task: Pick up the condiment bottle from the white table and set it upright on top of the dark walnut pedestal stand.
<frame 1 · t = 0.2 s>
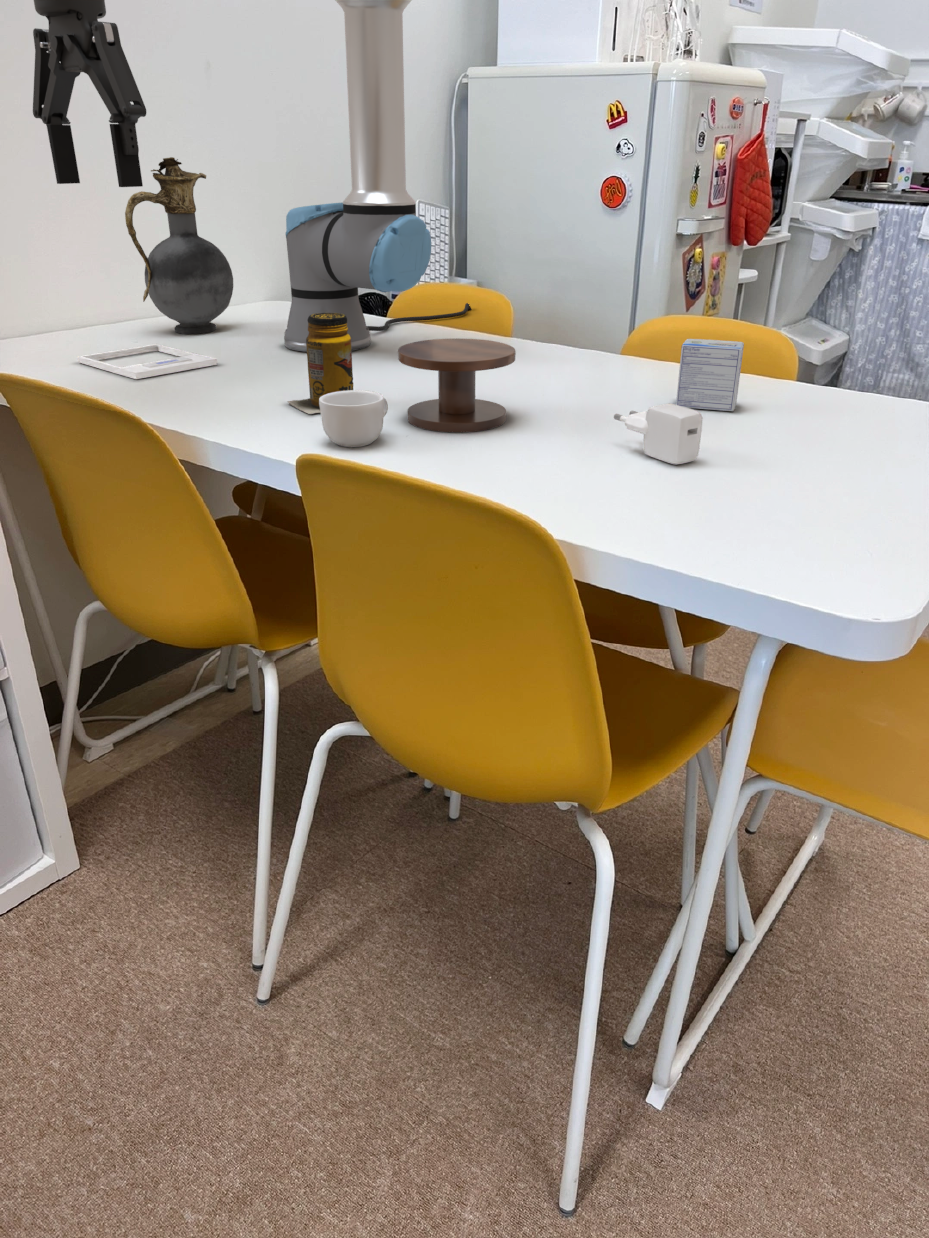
hand: (98, 185, 114), 28 cm above the table, tool pointing down, fingers open, 13 cm apart
condiment: (326, 406, 130), on the table
photo frame: (147, 364, 153), on the table
teacup: (360, 441, 115), on the table
stand: (456, 419, 124), on the table
power adapter: (653, 454, 110), on the table
pitcher: (188, 333, 179), on the table
medicine box: (705, 408, 130), on the table
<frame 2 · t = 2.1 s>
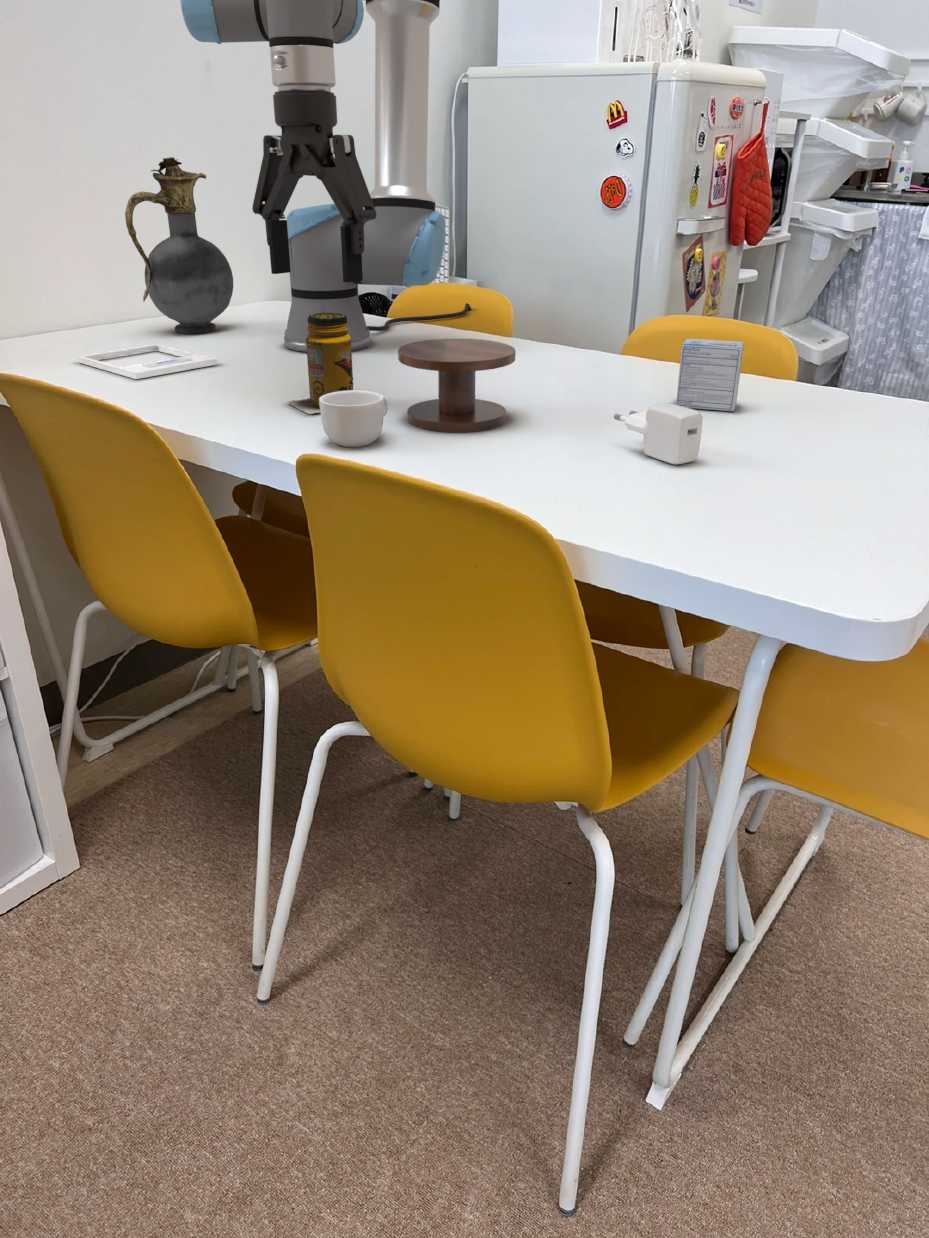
hand: (316, 277, 122), 17 cm above the table, tool pointing down, fingers open, 13 cm apart
nothing on the table moved.
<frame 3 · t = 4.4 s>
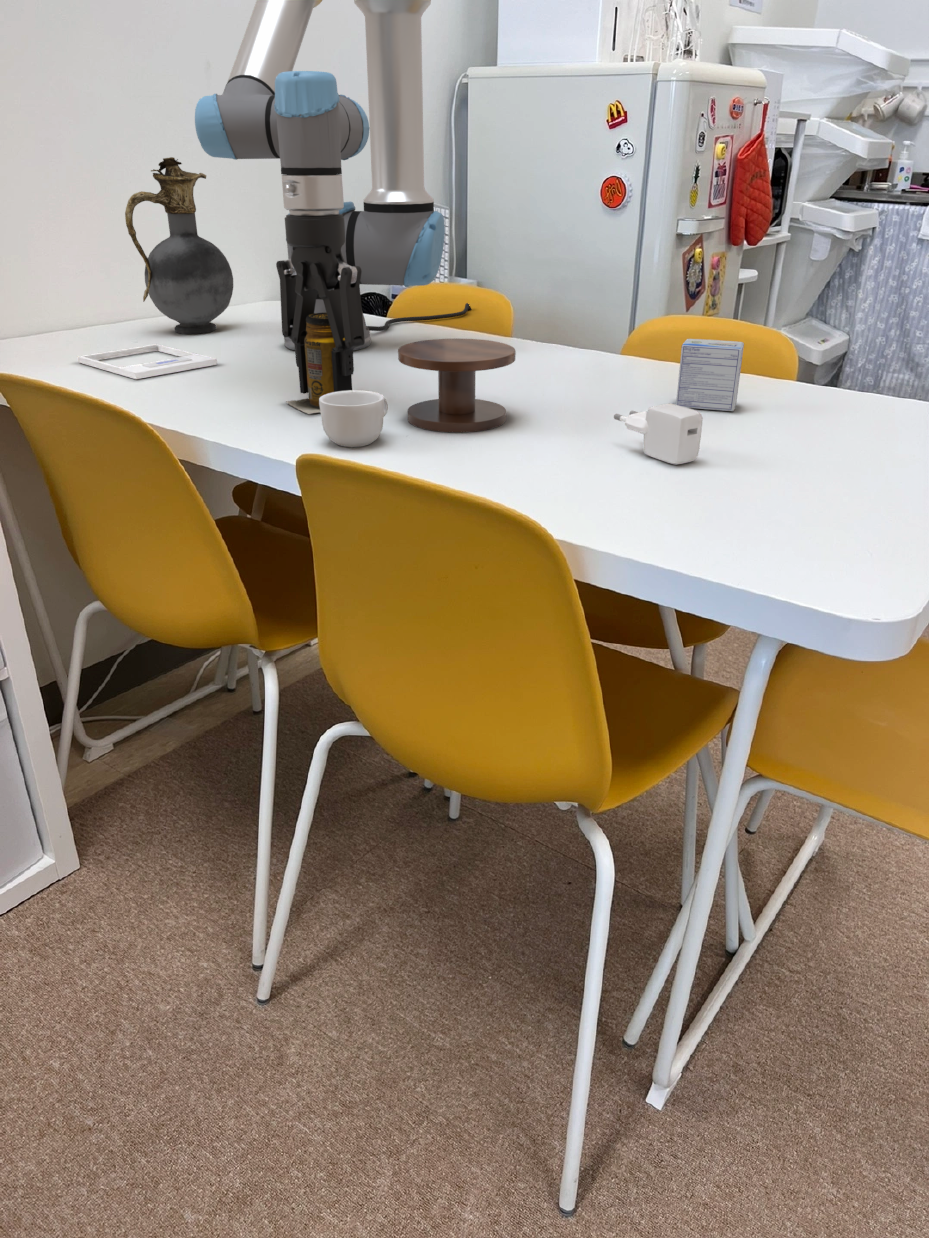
hand: (326, 394, 129), 1 cm above the table, tool pointing down, fingers closed on condiment, 6 cm apart
condiment: (324, 406, 130), on the table, touching gripper
everything else where it was.
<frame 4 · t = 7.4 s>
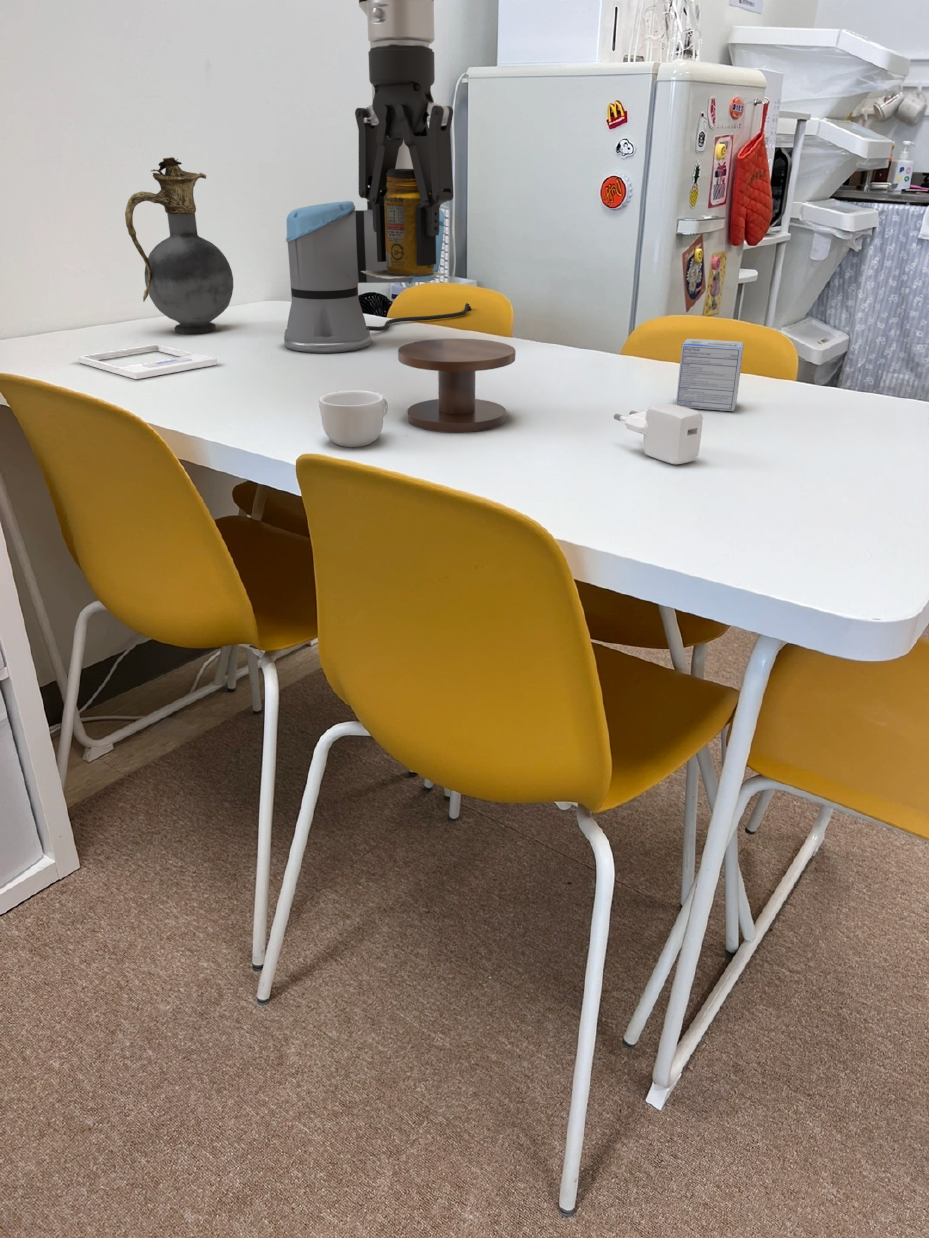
hand: (406, 262, 117), 19 cm above the table, tool pointing down, fingers closed on condiment, 6 cm apart
condiment: (403, 276, 118), point 17 cm above the table, touching gripper
everything else where it was.
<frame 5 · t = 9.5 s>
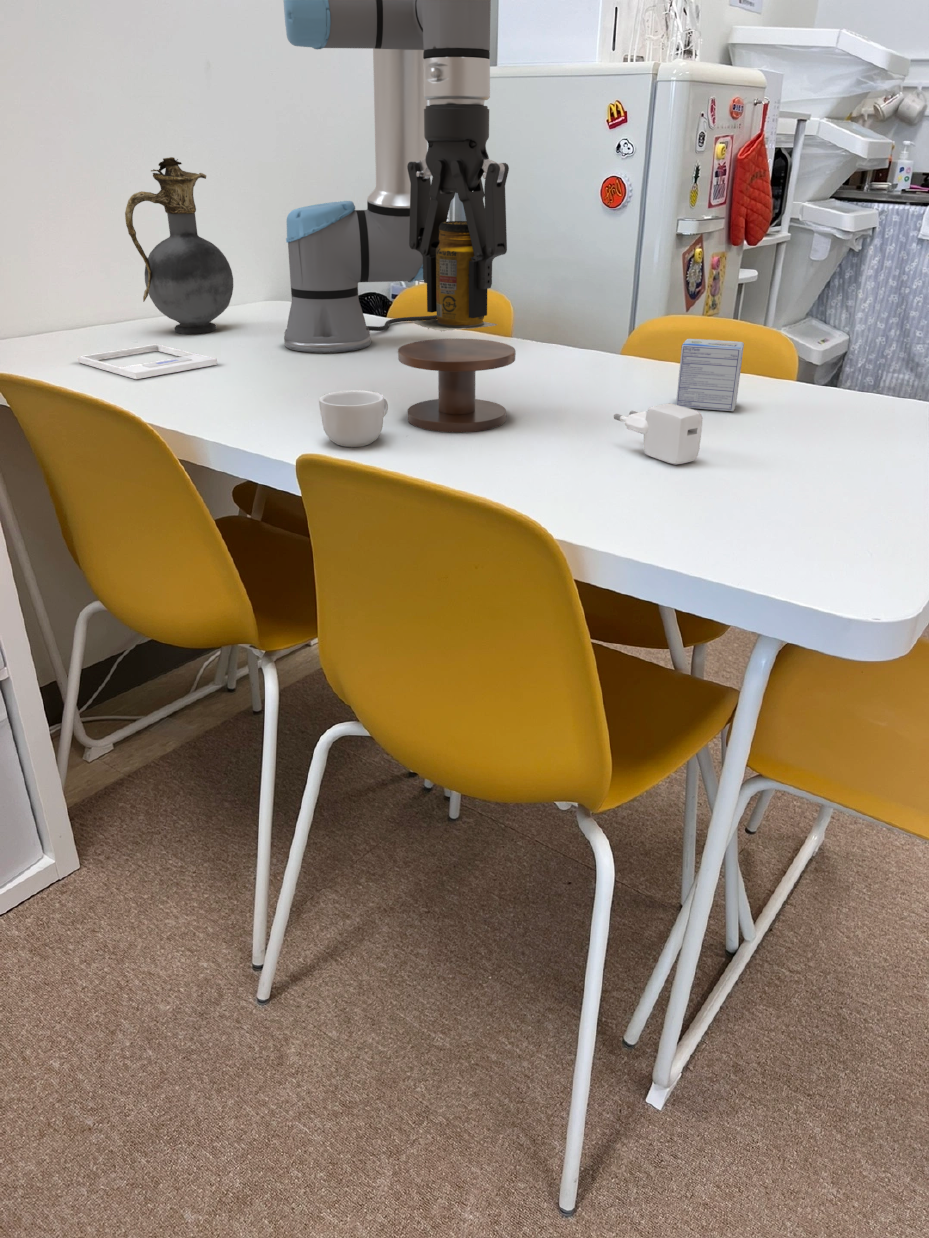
hand: (456, 313, 117), 13 cm above the table, tool pointing down, fingers closed on condiment, 6 cm apart
condiment: (454, 327, 118), point 12 cm above the table, touching gripper
everything else where it was.
when the fingers open (10 cm above the table, at t = 10.7 s): condiment stays where it is, resting on stand.
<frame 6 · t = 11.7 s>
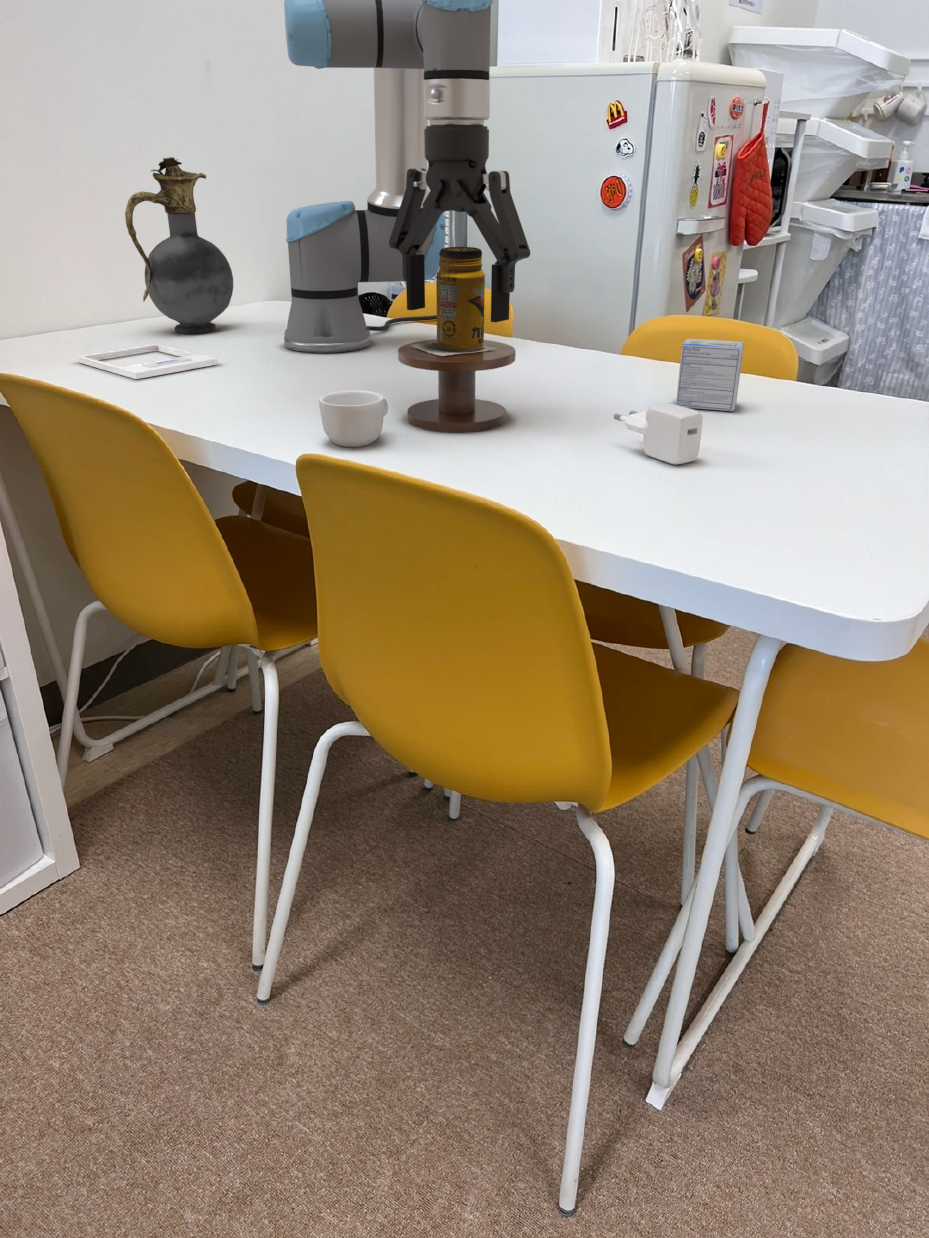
hand: (456, 315, 118), 13 cm above the table, tool pointing down, fingers open, 13 cm apart
condiment: (454, 350, 120), point 9 cm above the table, touching stand
everything else where it was.
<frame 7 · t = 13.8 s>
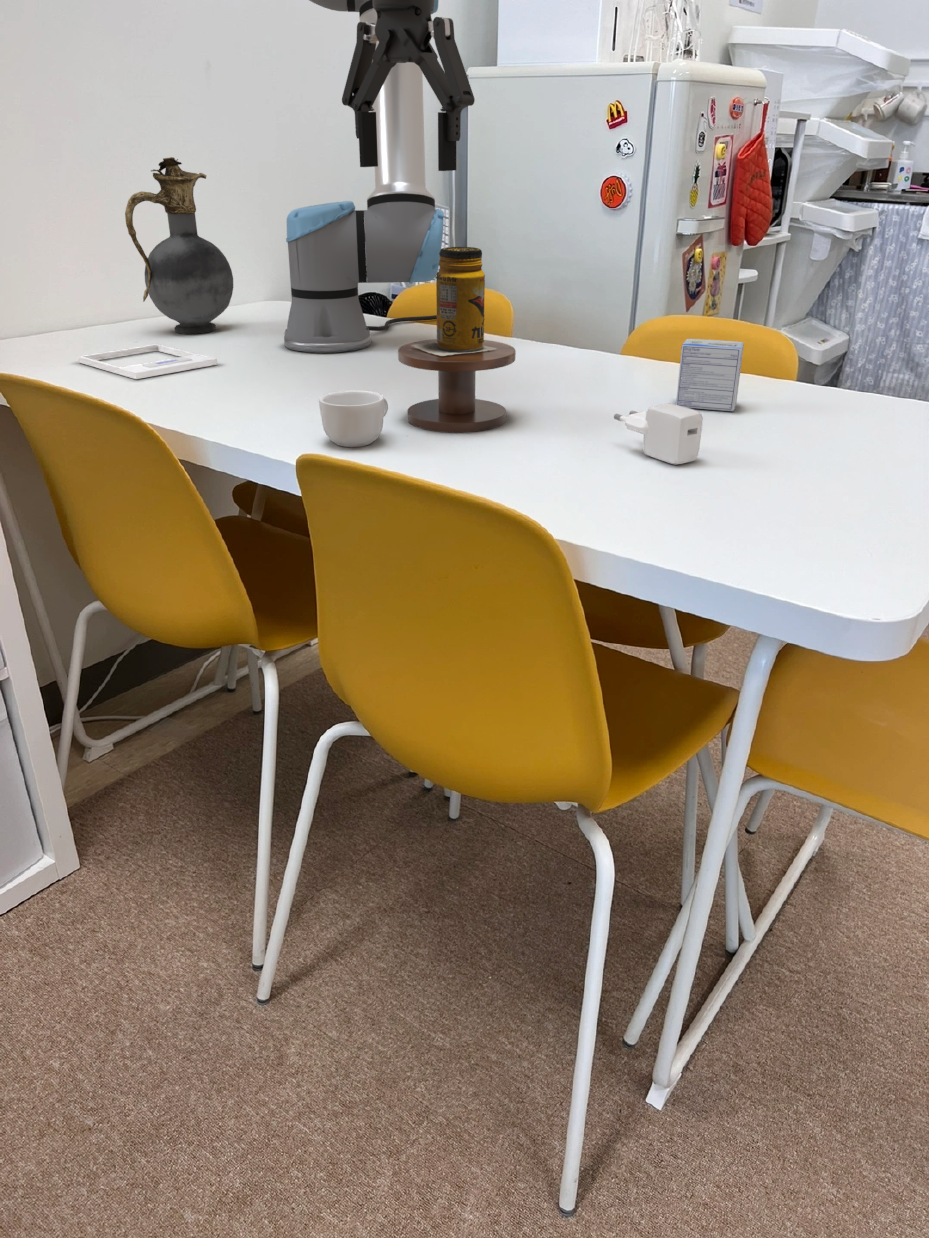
hand: (407, 169, 122), 29 cm above the table, tool pointing down, fingers open, 13 cm apart
nothing on the table moved.
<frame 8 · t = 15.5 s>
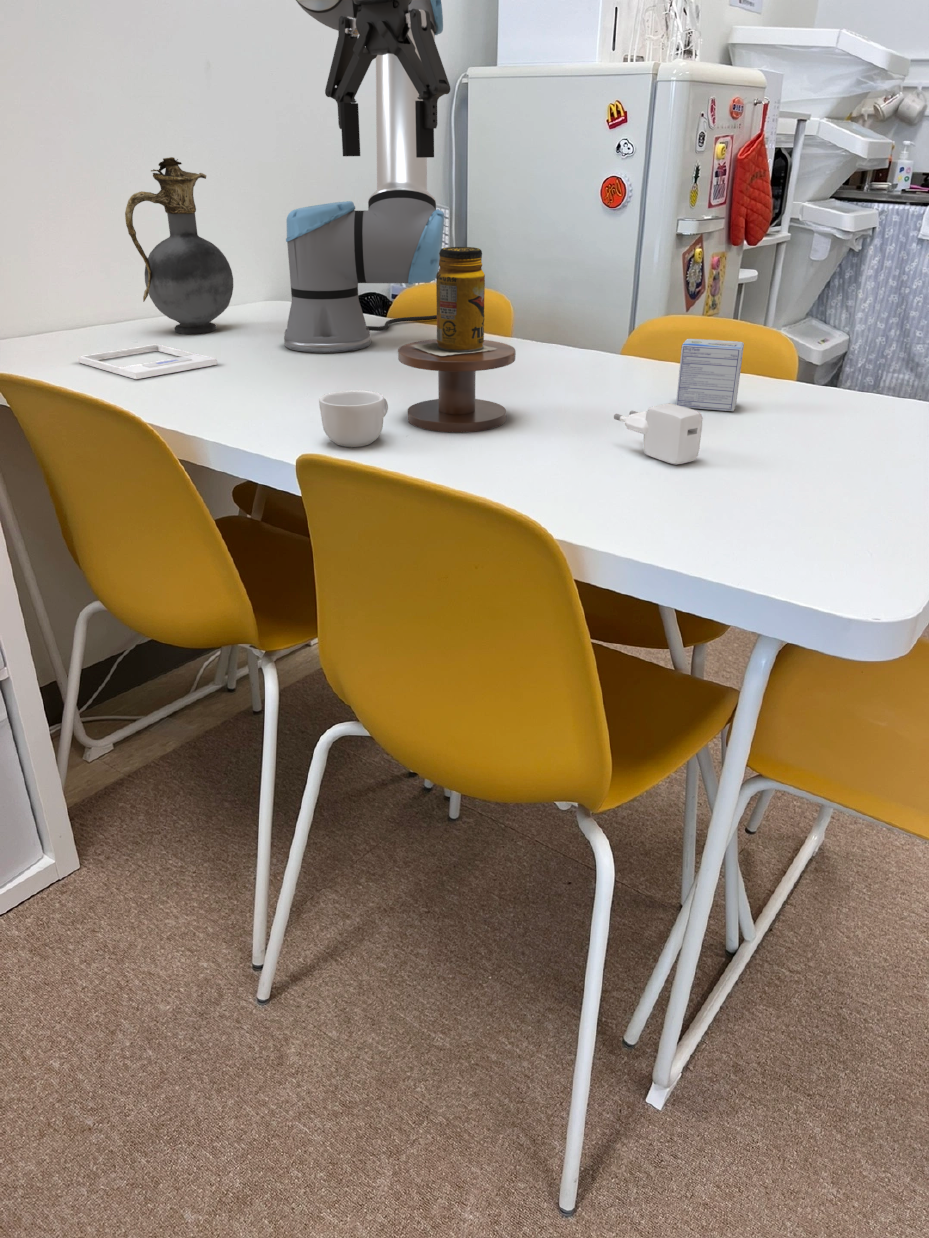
hand: (387, 157, 127), 31 cm above the table, tool pointing down, fingers open, 13 cm apart
nothing on the table moved.
at the end: condiment inside the target area on the stand (0.4 cm from its centre), point 8.8 cm above the stand's base; condiment tilted 0°; the gripper is holding nothing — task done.
